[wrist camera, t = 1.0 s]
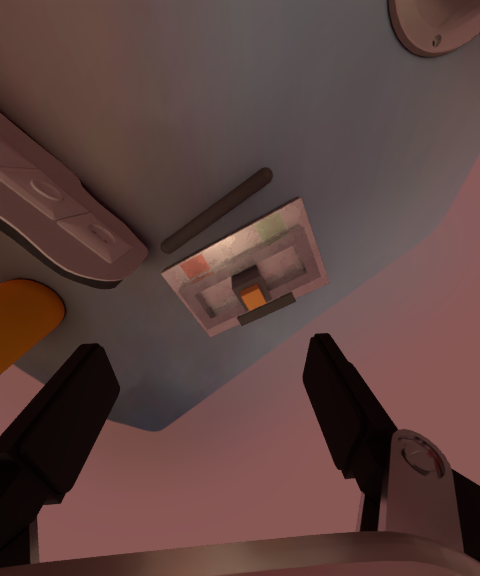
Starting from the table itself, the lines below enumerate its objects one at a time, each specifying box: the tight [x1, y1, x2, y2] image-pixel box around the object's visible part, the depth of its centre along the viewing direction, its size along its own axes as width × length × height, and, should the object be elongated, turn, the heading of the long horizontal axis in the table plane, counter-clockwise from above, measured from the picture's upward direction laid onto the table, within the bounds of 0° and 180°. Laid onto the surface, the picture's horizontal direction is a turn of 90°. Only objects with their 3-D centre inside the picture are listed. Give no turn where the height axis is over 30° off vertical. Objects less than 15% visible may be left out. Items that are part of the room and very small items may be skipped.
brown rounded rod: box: [161, 168, 273, 254], centre depth 27 cm, size 18×2×2 cm, turn 123°
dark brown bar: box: [237, 292, 296, 326], centre depth 34 cm, size 10×2×2 cm, turn 117°
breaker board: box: [161, 197, 330, 337], centre depth 31 cm, size 22×14×4 cm, turn 117°
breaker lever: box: [231, 264, 272, 312], centre depth 28 cm, size 4×4×6 cm
